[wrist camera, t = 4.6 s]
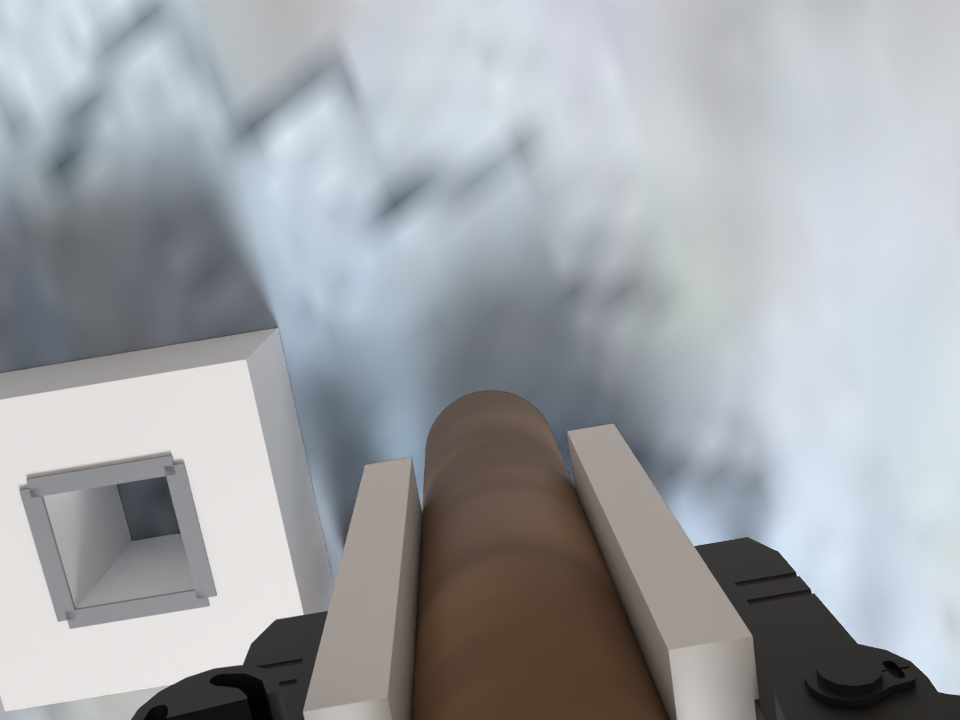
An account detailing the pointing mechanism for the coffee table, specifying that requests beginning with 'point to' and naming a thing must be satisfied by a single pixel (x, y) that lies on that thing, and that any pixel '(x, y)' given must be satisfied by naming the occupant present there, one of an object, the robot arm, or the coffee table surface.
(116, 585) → the hole block
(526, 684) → the long dowel
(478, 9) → the coffee table surface
